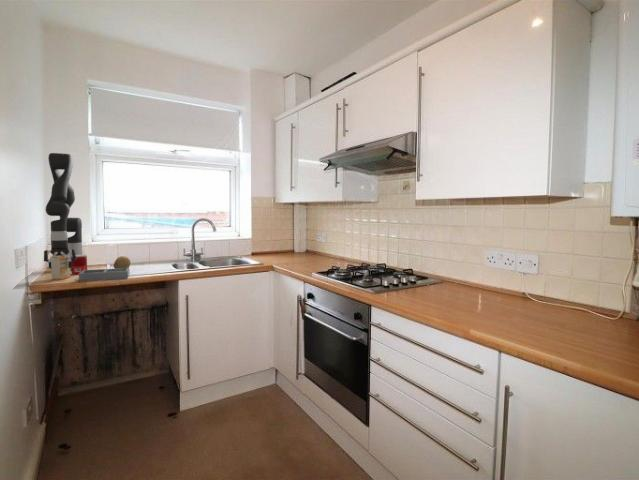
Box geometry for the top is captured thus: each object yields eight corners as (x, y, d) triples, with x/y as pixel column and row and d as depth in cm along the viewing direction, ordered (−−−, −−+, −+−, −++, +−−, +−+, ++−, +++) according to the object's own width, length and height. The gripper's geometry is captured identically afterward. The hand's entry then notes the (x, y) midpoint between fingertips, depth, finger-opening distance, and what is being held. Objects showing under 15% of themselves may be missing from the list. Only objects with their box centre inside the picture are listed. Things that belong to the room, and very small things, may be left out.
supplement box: (60, 280, 192) (59, 256, 191) (51, 279, 192) (50, 256, 191) (71, 277, 200) (70, 254, 199) (62, 277, 200) (61, 254, 199)
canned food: (90, 273, 214) (89, 255, 213) (76, 275, 207) (75, 256, 206) (82, 272, 217) (81, 254, 216) (68, 274, 210) (67, 255, 209)
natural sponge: (113, 274, 211) (113, 257, 210) (114, 271, 219) (113, 255, 218) (130, 273, 215) (130, 256, 214) (130, 270, 223) (130, 255, 222)
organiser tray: (83, 277, 201) (83, 270, 200) (129, 274, 210) (129, 267, 210) (79, 281, 189) (78, 273, 189) (127, 278, 198) (127, 271, 198)
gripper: (76, 238, 201) (77, 266, 202) (45, 239, 195) (46, 268, 196) (73, 239, 194) (74, 268, 195) (41, 240, 188) (42, 270, 189)
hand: (60, 268), depth 195 cm, fingers open, 8 cm apart
